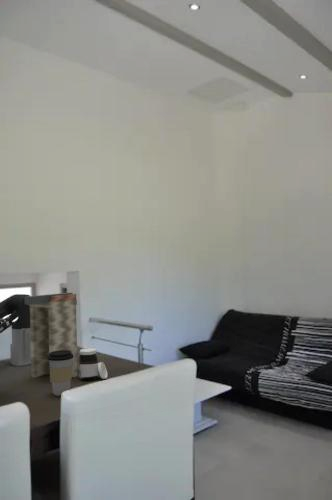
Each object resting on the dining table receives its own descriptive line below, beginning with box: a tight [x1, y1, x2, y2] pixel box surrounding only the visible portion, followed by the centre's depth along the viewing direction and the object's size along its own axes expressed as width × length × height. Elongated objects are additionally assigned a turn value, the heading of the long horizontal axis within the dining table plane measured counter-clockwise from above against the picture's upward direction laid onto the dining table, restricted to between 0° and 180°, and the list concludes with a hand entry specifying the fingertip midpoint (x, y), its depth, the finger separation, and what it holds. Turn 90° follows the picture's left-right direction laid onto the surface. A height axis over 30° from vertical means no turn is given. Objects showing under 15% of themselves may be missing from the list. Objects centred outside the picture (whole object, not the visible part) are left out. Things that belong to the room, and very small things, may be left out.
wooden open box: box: [29, 293, 79, 383], centre depth 181 cm, size 13×16×34 cm
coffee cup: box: [47, 350, 74, 397], centre depth 157 cm, size 9×9×15 cm
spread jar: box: [78, 347, 108, 381], centre depth 176 cm, size 12×11×12 cm
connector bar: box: [25, 292, 74, 305], centre depth 175 cm, size 21×3×3 cm, turn 139°
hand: (12, 312), depth 163 cm, fingers open, 8 cm apart
